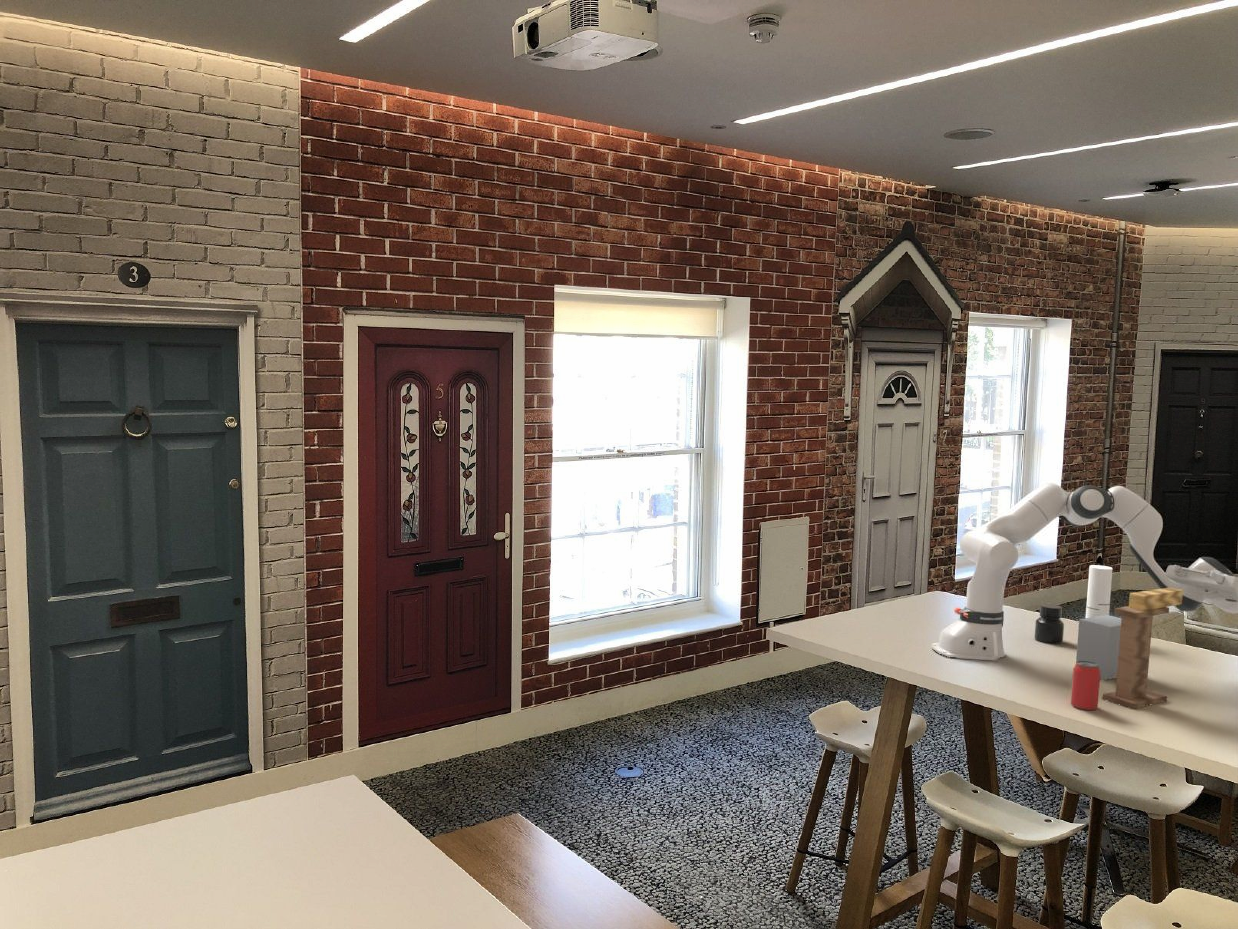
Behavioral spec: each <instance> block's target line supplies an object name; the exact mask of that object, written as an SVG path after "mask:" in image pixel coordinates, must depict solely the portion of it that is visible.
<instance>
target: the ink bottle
mask: <svg viewBox="0 0 1238 929" xmlns="http://www.w3.org/2000/svg"><path fill="white" fill-rule="evenodd" d="M1062 610H1063V607H1062V606H1060V605H1059V604H1052V603H1050V604H1049V603H1042V604H1039V617H1038V618H1037V619H1036V620H1035V625H1034V640H1036V641H1038V642H1041V641H1042V643H1045V644H1062V643H1063V642H1064V633H1065V623H1064V621H1063V620H1061V618H1062V612H1063V611H1062Z"/></svg>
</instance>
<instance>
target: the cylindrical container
mask: <svg viewBox="0 0 1238 929" xmlns="http://www.w3.org/2000/svg"><path fill="white" fill-rule="evenodd" d="M1112 579H1113V567H1111V566H1107V565H1098V564H1096V565H1095V564H1091V565H1089V568H1088V582H1087V593H1086V595H1087V596H1086V597H1087V598H1086V607H1085V618H1091V617H1097V616H1103V615H1109V616H1110V605H1111V595H1112V594H1111V591H1112V582H1113V581H1112Z"/></svg>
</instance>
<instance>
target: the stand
mask: <svg viewBox="0 0 1238 929" xmlns="http://www.w3.org/2000/svg"><path fill="white" fill-rule="evenodd" d="M1169 613H1170V607H1169V606H1168V607H1162V608H1156V609H1150V610H1144V611H1142V610H1138V609H1133V608H1129V605H1128V606H1121V607H1120V606H1119V607H1116V608H1114V612H1113V614H1114V615H1118V616H1121V617H1120V618H1121V631H1120V644H1119V656H1118V669H1117V678H1116V681H1115V682H1116V683H1115V690H1114V691H1110V692H1106V693H1102V697H1101V700H1102V699H1103V700H1102V701H1106V700H1108V701H1107V702H1109V701H1110V703H1112V702H1113V704H1117V705H1118V704H1120V705H1119V706H1122V707H1125V708H1128V707H1130V708H1129V709H1131V708H1132V710H1136V709H1139V708H1138V707H1140V708H1144V707H1148V706H1151V705H1150V704H1152V705H1156V704H1160V703H1164V702H1167V701H1168V695H1166V694H1163V693H1160V692H1156V691H1154V690H1150V689H1148V678H1149V675H1148V674H1149V667H1150V666H1149V664H1150V653H1151V643H1152V642H1151V640H1152V629H1153V617H1154V616H1160V615H1165V614H1169ZM1166 700H1167V701H1166ZM1163 701H1164V702H1163ZM1147 705H1148V706H1147ZM1135 708H1136V709H1135Z"/></svg>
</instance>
